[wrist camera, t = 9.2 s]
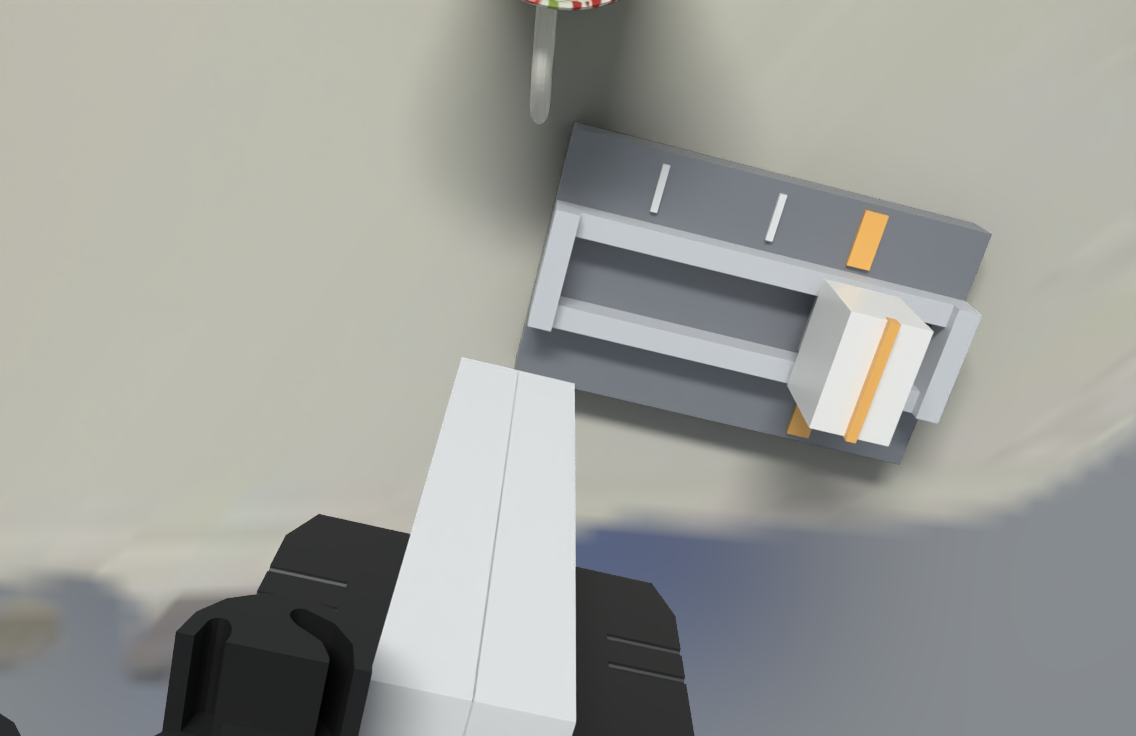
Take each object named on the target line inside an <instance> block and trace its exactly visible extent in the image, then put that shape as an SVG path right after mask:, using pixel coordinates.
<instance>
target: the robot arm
mask: <svg viewBox="0 0 1136 736" xmlns="http://www.w3.org/2000/svg"><path fill="white" fill-rule="evenodd" d="M679 653H680V643H679V637H678V631H677V624H676V618H675V615H674V614H673V613H672V611H671V609H670V608H669V607H668V605H667V604H666V603H665V601H664V600H663V598H662V597H661V596H660V594H659V593H658V592H657V590H656V589H655V587H654V586H653V585H652V583H648V582H643V581H638V580H633V579H629V578H625V577H620V576H616V575H611V574H607V573H602V572H597V571H593V570H588V569H583V568H579V567H575V383H570V382H566V381H562V380H558V379H553V378H549V377H545V376H540V375H536V374H532V373H528V372H523V371H519V370H515V369H511V368H506V367H502V366H498V365H493V364H489V363H485V362H481V361H476V360H472V359H468V358H463V357H462V359H461V362H460V366H459V369H458V373H457V376H456V379H455V383H454V386H453V390H452V393H451V397H450V400H449V404H448V407H447V410H446V414H445V417H444V421H443V424H442V428H441V431H440V435H439V438H438V441H437V445H436V448H435V452H434V455H433V459H432V462H431V466H430V469H429V472H428V476H427V479H426V483H425V486H424V490H423V493H422V497H421V500H420V503H419V507H418V510H417V514H416V517H415V521H414V524H413V528H412V531H411V534H408V533H403V532H399V531H394V530H389V529H385V528H380V527H376V526H371V525H367V524H362V523H357V522H353V521H348V520H344V519H339V518H335V517H330V516H325V515H321V514H318V515H317V516H315V517H314V518H312V519H311V520H309V521H307V522H306V523H304V524H303V525H301V526H300V527H298V528H296V529H295V530H293V531H292V532H290V533H289V534H287V535H286V536H285V538H284V540H283V542H282V544H281V546H280V548H279V550H278V552H277V553H276V555H275V557H274V559H273V561H272V563H271V565H270V569H269V571H267V573H266V575H265V577H264V579H263V581H262V583H261V585H260V587H259V589H258V591H257V594H256V595H248V596H241V597H234V598H227V599H224V600H222V601H220V602H218V603H215V604H213V605H211V606H208V607H206V608H204V609H201V610H199V611H197V612H196V613H195V614H194V615H192V616H191V617H190V618H189V619H188V620H187V621H186V622H185V623H184V624H183V625H182V626H181V627H180V628H179V629H178V630H177V631H176V636H175V643H174V650H173V658H172V665H171V672H170V679H169V687H168V694H167V702H166V709H165V716H164V723H163V730H162V732H161V733H159V734H157V735H155V736H694V731H693V725H692V718H691V712H690V706H689V700H688V693H687V687H686V684H684V678H685V675H684V669H683V662H682V656H680V655H679ZM0 736H21V735H20V733H19V731H18V729H17V728H16V725H15V724H14V722H12V721H11V720H9V719H8V718H6V717H4V716H3V715H1V714H0Z"/></svg>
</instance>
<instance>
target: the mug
mask: <svg viewBox="0 0 1136 736" xmlns="http://www.w3.org/2000/svg"><path fill="white" fill-rule="evenodd" d="M521 1H524V2H527V3H529V4H532V5H536V17H535V30H534V42H533V56H532V69H531V88H530V114H531V118H532V120H533V121H534V123H537V124H542V123H543V122H545V121H546V119H547V117H548V114H549V109H550V101H551V89H552V66H553V57H554V50H555V31H556V20H557V10H585V9H592V8H597V7H601V6H604V5H608V4H611V3H614V2H616V1H619V0H521Z"/></svg>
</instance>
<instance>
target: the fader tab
mask: <svg viewBox="0 0 1136 736" xmlns="http://www.w3.org/2000/svg"><path fill="white" fill-rule="evenodd" d="M933 332H934V331H933V330H932V329H931V328H930V327H929V326H928V325H927V324H925V323H924V322H923V321H922V320H921V319H920V318H919V317H918V316H917V315H916V314H915V313H914V312H913V311H912V310H911V309H910V308H909V307H908V306H907V305H906V304H905V303H904V302H903V301H902V300H901V299H900V298H899V297H896V296H892V295H888V294H884V293H880V292H876V291H872V290H868V289H864V288H860V287H856V286H852V285H848V284H844V283H840V282H836V281H832V280H828V279H824V281H823V284H822V287H821V289H820V292H819V295H818V298H817V297H815V300H814V303H813V306H812V309H811V311H810V314H809V317H808V320H807V323H806V326H805V329H804V332H803V334H802V337H801V340H800V343H799V346H798V351H799V353H798V355H797V358H796V361H795V364H794V367H793V370H792V373H791V376H790V378H789V381H788V384H787V386H788V388H789V390H790V392H791V394H792V396H793V398H794V400H795V402H796V404H797V406H798V407H799V409H800V411H801V413H802V415H803V417H804V419H805V421H806V423H807V425H808V427H809V428H812V429H816V430H820V431H824V432H829V433H833V434H837V435H841V436H843V437H844V439H845V441H847V442H852V443H856V442H857V439H858V440H863V441H867V442H871V443H875V444H880V445H884V446H889V444H890V441H891V439H892V436H893V434H894V431H895V429H896V426H897V424H898V421H899V419H900V416H901V413H902V411H903V408H904V406H905V403H906V401H907V398H908V396H909V393H910V391H911V388H912V386H913V383H914V380H915V378H916V375H917V373H918V370H919V368H920V365H921V363H922V360H923V358H924V355H925V353H926V350H927V348H928V345H929V342H930V340H931V337H932V335H933Z"/></svg>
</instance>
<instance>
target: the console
mask: <svg viewBox="0 0 1136 736" xmlns="http://www.w3.org/2000/svg"><path fill="white" fill-rule="evenodd" d="M991 235H992V234H991V233H989V232H987V231H986V230H984V229H983V228H981V227H979V226H978V225H976V224H974V223H970V222H966V221H962V220H958V219H955V218H951V217H947V216H943V215H939V214H935V213H931V212H927V211H923V210H919V209H915V208H911V207H907V206H904V205H900V204H896V203H892V202H888V201H884V200H880V199H876V198H872V197H868V196H864V195H860V194H856V193H853V192H849V191H845V190H841V189H837V188H833V187H829V186H825V185H821V184H817V183H813V182H809V181H805V180H802V179H798V178H794V177H790V176H786V175H782V174H778V173H774V172H770V171H766V170H762V169H758V168H754V167H751V166H747V165H743V164H739V163H735V162H731V161H727V160H723V159H719V158H715V157H711V156H707V155H704V154H700V153H696V152H692V151H688V150H684V149H680V148H676V147H672V146H668V145H664V144H660V143H656V142H653V141H649V140H645V139H641V138H637V137H633V136H629V135H625V134H621V133H617V132H613V131H609V130H605V129H602V128H598V127H594V126H590V125H586V124H582V123H578V122H574V126H573V130H572V134H571V138H570V142H569V146H568V150H567V154H566V158H565V162H564V166H563V170H562V174H561V178H560V183H559V187H558V191H557V195H556V199H555V203H554V207H553V211H552V215H551V219H550V223H549V227H548V231H547V235H546V239H545V243H544V247H543V251H542V255H541V259H540V263H539V268H538V272H537V276H536V280H535V284H534V288H533V292H532V296H531V300H530V304H529V308H528V312H527V316H526V320H525V324H524V328H523V332H522V336H521V340H520V344H519V348H518V353H517V357H516V362H515V370H519V371H523V372H528V373H532V374H536V375H540V376H545V377H549V378H553V379H558V380H562V381H566V382H570V383H575V389H578V390H582V391H587V392H591V393H595V394H599V395H604V396H608V397H612V398H617V399H621V400H625V401H629V402H634V403H638V404H642V405H646V406H651V407H655V408H659V409H664V410H668V411H672V412H676V413H681V414H685V415H689V416H694V417H698V418H702V419H706V420H711V421H715V422H719V423H724V424H728V425H732V426H736V427H741V428H745V429H749V430H754V431H758V432H762V433H766V434H771V435H775V436H779V437H784V438H788V439H792V440H796V441H801V442H805V443H809V444H814V445H818V446H822V447H826V448H831V449H835V450H839V451H843V452H848V453H852V454H856V455H861V456H865V457H869V458H873V459H878V460H882V461H886V462H891V463H895V464H899V465H900V462H901V460H902V457H903V455H904V452H905V450H906V447H907V445H908V442H909V440H910V437H911V435H912V432H913V430H914V427H915V425H916V422H917V420H918V419H921V420H925V421H929V422H933V423H937V424H938V422H939V420H940V417H941V415H942V413H943V410H944V408H945V405H946V403H947V400H948V398H949V395H950V393H951V391H952V388H953V386H954V383H955V381H956V378H957V376H958V373H959V371H960V369H961V366H962V364H963V361H964V359H965V356H966V354H967V351H968V349H969V347H970V344H971V342H972V339H973V337H974V334H975V332H976V329H977V327H978V325H979V322H980V320H981V317H982V315H981V314H980V313H979V312H978V311H977V310H975V309H974V308H973V307H972V306H971V305H969V304H968V303H967V302H966V301H965V300H966V298H967V295H968V293H969V290H970V288H971V285H972V283H973V280H974V278H975V275H976V273H977V270H978V268H979V265H980V263H981V260H982V258H983V255H984V253H985V250H986V248H987V245H988V243H989V240H990V238H991ZM824 279H828V280H832V281H836V282H840V283H844V284H848V285H852V286H856V287H860V288H864V289H868V290H872V291H876V292H880V293H884V294H888V295H892V296H896V297H899V298H900V299H901V300H902V301H903V302H904V303H905V304H906V305H907V306H908V307H909V308H910V309H911V310H912V311H913V312H914V313H915V314H916V315H917V316H918V317H919V318H920V319H921V320H922V321H923V322H924V323H925V324H927V325H928V326H929V327H930V328H931V329H932V330H933V331H934V332H933V335H932V337H931V340H930V342H929V345H928V348H927V350H926V353H925V355H924V358H923V360H922V363H921V365H920V368H919V370H918V373H917V375H916V378H915V380H914V383H913V386H912V388H911V391H910V393H909V396H908V398H907V401H906V403H905V406H904V408H903V411H902V413H901V416H900V419H899V421H898V424H897V426H896V429H895V431H894V434H893V436H892V439H891V441H890V444H889V446H884V445H880V444H875V443H871V442H867V441H863V440H858V439H857V442H856V443H852V442H847V441H845V439H844V437H843V436H841V435H837V434H833V433H829V432H824V431H820V430H816V429H812V428H809V427H808V425H807V423H806V421H805V419H804V417H803V415H802V413H801V411H800V409H799V407H798V406H797V404H796V402H795V400H794V398H793V396H792V394H791V392H790V390H789V388H788V386H787V384H788V381H789V378H790V376H791V373H792V370H793V367H794V364H795V361H796V358H797V355H798V353H799V351H798V346H799V343H800V340H801V337H802V334H803V332H804V329H805V326H806V323H807V320H808V317H809V314H810V311H811V309H812V306H813V303H814V300H815V297H817V298H818V295H819V292H820V289H821V287H822V284H823V281H824Z"/></svg>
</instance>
